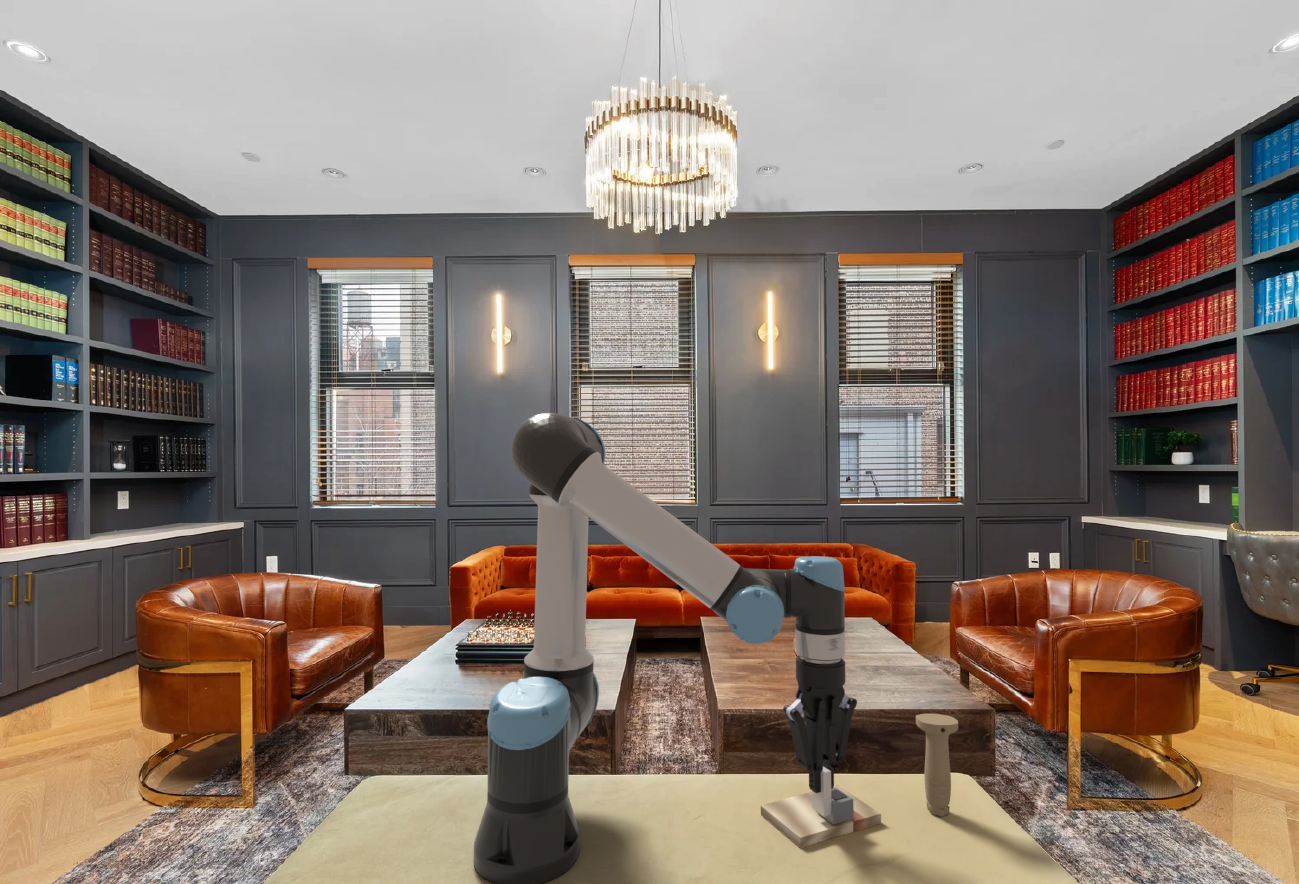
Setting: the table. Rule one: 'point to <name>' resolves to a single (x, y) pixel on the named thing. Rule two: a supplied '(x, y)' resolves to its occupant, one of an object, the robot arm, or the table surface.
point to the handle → (937, 760)
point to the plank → (815, 819)
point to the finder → (840, 807)
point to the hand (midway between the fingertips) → (821, 810)
